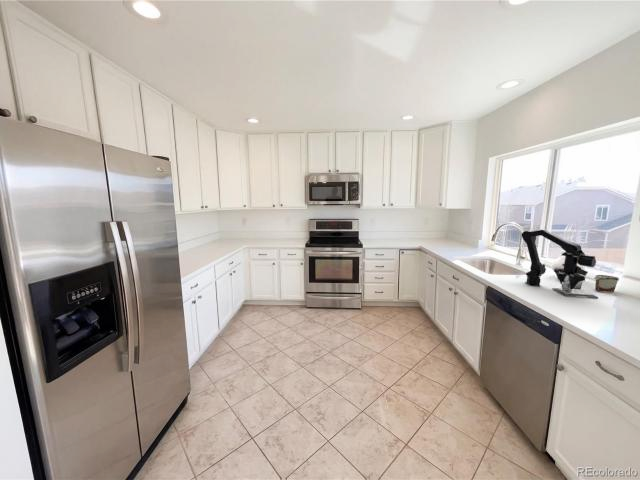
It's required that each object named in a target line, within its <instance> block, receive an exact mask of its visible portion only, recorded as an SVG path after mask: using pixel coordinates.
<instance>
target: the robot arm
mask: <svg viewBox="0 0 640 480" xmlns="http://www.w3.org/2000/svg"><path fill="white" fill-rule="evenodd" d="M539 236H542V237H543V238H545V239H547V240H549V241H550V242H552V243H554V244H556V245H558V246H559V247H560V248H561V250H565V251H566V252H565V253H563V254H562V253H561V255H560V256H565V262H564V264H562V265H563V266H564V268H555V269H554V271H553V272H554V273H555V272H556V273H555V276H557V277H558V279H557V280H558V281H559V283H560V285H562V282H565V281H564V280H565V277H566V276H567V275H569V278H570V279H568V280H569V281H568V282H569V285H570V289H573V288H574V287H575V286H576V284H577V283H578V282H585V281H586V276H587V275H588V272H589V271H587V270H582V269H581V267H579V266H577V262H578V264H579V265H582V266H584V267H589V268H594V267H595V266H596V265H597V260H596V255H587V254H585V252H584V251H583V250H582V246H581V245H580V244H578V243H575V242H572V241H569V240H566V239H563V238H562V237H559V235H556V234H554V233H552V232H550V231H548V229H540V230H524V231H523V232H522V233H521V238H522V240H523V241H524V242H525V244H526V246H527V251H528V255H529V257H530V262H531V263H530V268H529V269H530V270H529V271H527V272H526V273H525V275H526V281H525V282H524V283H525V284H527V285H529V286H534V287H541V277H542V275H545V273H546V270H547V268H546V265H545V263H544V264H542V263H541V261H540V260H541V259H540V257H539V252H538V249H537V245H536V240H537V237H539ZM569 253H570V254H569ZM579 274H581V275H579Z"/></svg>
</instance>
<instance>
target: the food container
mask: <svg viewBox="0 0 640 480" xmlns="http://www.w3.org/2000/svg"><path fill="white" fill-rule="evenodd" d="M593 279H595V285H594V290H595V291H596V292H597V293H598V292H599V293H614V292H615V289H616V287H617V284H618V282H619V281H620V278H619V277H617V276H613V275H607V274H596V275H595V276H594V278H593Z"/></svg>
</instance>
